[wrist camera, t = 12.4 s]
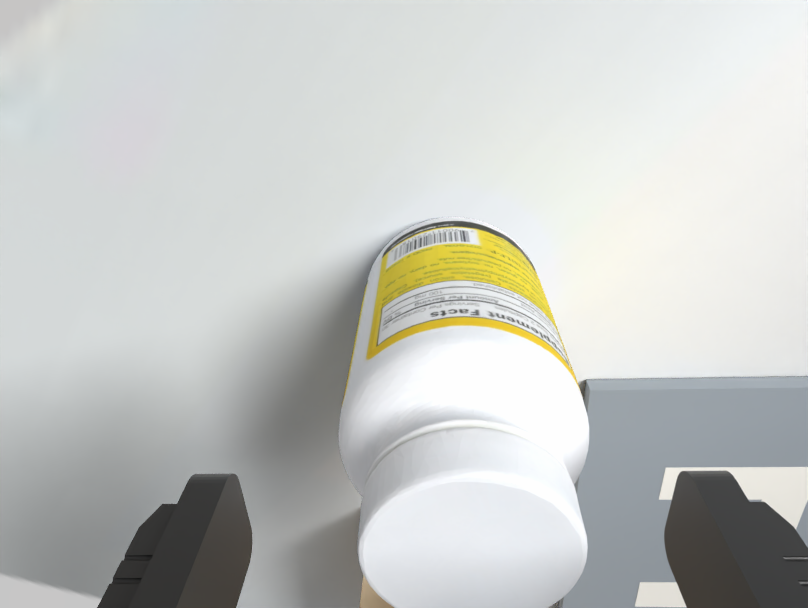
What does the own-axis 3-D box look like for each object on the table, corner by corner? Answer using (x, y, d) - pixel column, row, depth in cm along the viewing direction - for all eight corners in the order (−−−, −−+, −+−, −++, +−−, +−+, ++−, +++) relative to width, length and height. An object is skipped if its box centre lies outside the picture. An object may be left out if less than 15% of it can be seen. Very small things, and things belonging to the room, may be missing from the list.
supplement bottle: (472, 386, 20) (499, 684, 12) (337, 311, 19) (257, 583, 11) (575, 270, 18) (701, 536, 9) (428, 176, 17) (420, 384, 8)
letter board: (1057, 372, 19) (1076, 384, 18) (893, 645, 26) (903, 659, 26) (586, 379, 20) (590, 390, 19) (554, 639, 27) (556, 653, 27)
